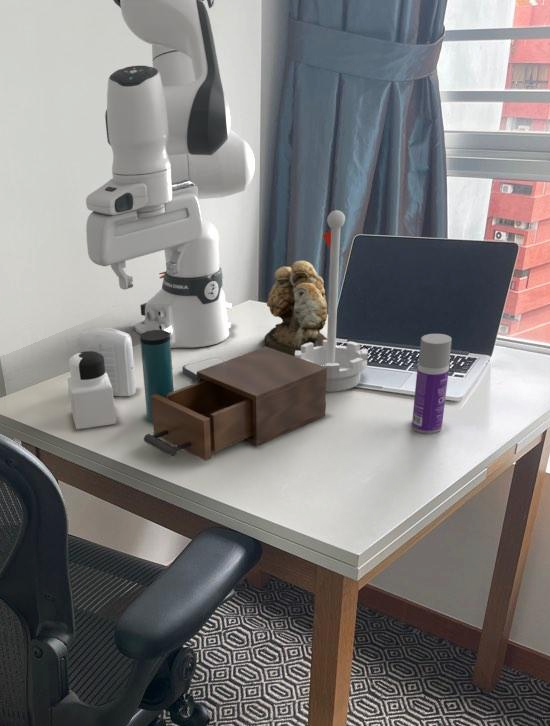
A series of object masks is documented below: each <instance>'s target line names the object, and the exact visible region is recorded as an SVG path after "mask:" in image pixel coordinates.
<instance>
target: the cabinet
mask: <svg viewBox="0 0 550 726" xmlns="http://www.w3.org/2000/svg"><path fill="white" fill-rule="evenodd" d="M202 380H206V381H209V382H211V383H214V384H216V385H218V386H221V387H223V388H226V389H228V390H230V391H233V392H235V393H238V394H240V395H242V396H245V397H247V398H250V399H252V404H253V436H251V437H248V438H246V439H244V440H243V441H244V442H247V443H248V444H250V445H253V446H255V447H258V446H261V445H263V444H265V443H268V442H270V441H272V440H274V439H277V438H279V437H281V436H283V435H286V434H288V433H291V432H293V431H295V430H297V429H300V428H302V427H305V426H306V425H309V424H311V423H313V422H316V421H318V420H320V419H322V418H326V412H327V411H326V407H327V406H326V405H327V391H326V385H327V367H324V366H321V365H318V364H315V363H312V362H309V361H306V360H303V359H301V358H298V357H295V356H292V355H289V354H286V353H283V352H280V351H277V350H275V349H272V348H269V347H266V346H265V345H264V346H262V347H260V348H257V349H255V350H252V351H248V352H246V353H244V354H241V355H238V356H236V357H233V358H230V359H227V360H225V361H224V362H222V363H219V364H216V365H214V366H211V367H208V368H205V369H203V370H200V371H197V381H196V383H197V382H200V381H202Z"/></svg>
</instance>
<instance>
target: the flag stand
mask: <svg viewBox="0 0 550 726" xmlns="http://www.w3.org/2000/svg"><path fill="white" fill-rule="evenodd" d="M326 221H327V222H326V223H327V225H328V226H329V228H330V230H328V231H327V232H325V233H324V234H322V237H323V239H324V242H325V243H326V245H327V247H328V249H329V251H330V254H329V278H328V301H327V302H328V303H327V329H326V330H327V331H326V332H327V333H326V338H327V340H323V346H317V347H314V344H313V343H311V342H309V343H306V344H304V345H301V351H295V357H298V358H301V359H303V360H306V361H309V362H312V363H315V364H318V365H322V366H323V365H324V367H327V385H326V392H340V391H342V392H343V391H346V390H350V389H353V388H355V387H357V386H358V385H359V384H360V382H361V373H362V372H363V371H364V370H365V369H366V368H367V367H368V353H369V351H368V349H367V348H361V343H358V342H355V341H351V340H349V341H348V342H346V345H337V341H338V340H337V317H338V316H337V314H338V295H339V294H338V291H339V273H340V271H339V270H340V269H339V268H340V249H341V248H340V247H341V228H342V227H343V226H344V224H345V222H346V216H345V214H344V212H343V211H341V210H338V209H336V210H333V211H331V212H329V214H328V215H327V219H326Z"/></svg>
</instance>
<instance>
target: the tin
mask: <svg viewBox="0 0 550 726" xmlns="http://www.w3.org/2000/svg"><path fill="white" fill-rule="evenodd" d="M139 342H140V353H141V364H142V374H143V387H144V397H145V408H146V419H147V421H149V422H150V423H153V417H152V405H151V396H152V395H155V394H158V395H160V396H162V397H164V398H166V399H167V395H166V394H168V393H170V392H173V391H175V389H174V375H173V362H172V361H173V359H172V348H171V344H170V333H169V332H168V331H165V330H151V331H147V332H144V333H142V334H140V335H139Z"/></svg>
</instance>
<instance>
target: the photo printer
mask: <svg viewBox="0 0 550 726" xmlns="http://www.w3.org/2000/svg"><path fill="white" fill-rule="evenodd" d="M78 349H79V353H80V352H85V351H93V352H98V353H100V354H102V355H103V356H104V363H105V371H106V373H107V375H108V378H109V380H110V383H111V386H112V390H113V396H116V397H117V396H118V397H132V396H133V395H135V393H136V392H137V391H136V376H135V375H136V373H135V364H134V363H135V361H134V352H133V351H134V350H133V340H132V337H131V335H130V334H129V333H127V332H125V331H123V330H119V329H114V328H109V327H95V328H89V329H86V330H83V331H82V332H80V333H79V336H78Z"/></svg>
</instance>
